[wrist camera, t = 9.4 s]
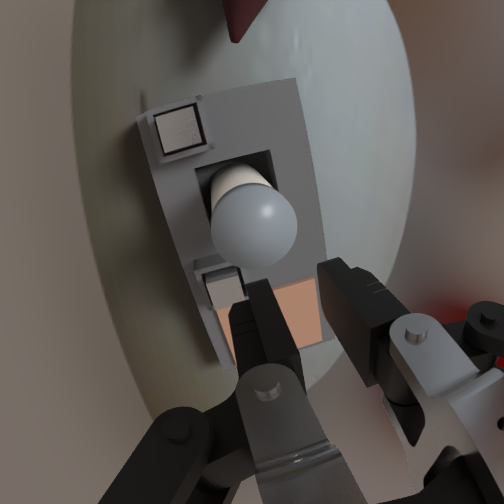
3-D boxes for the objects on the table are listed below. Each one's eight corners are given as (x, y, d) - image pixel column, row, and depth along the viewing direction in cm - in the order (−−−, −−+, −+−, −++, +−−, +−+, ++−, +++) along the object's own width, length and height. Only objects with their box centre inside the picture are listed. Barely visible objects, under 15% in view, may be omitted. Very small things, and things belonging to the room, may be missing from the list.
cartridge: (202, 171, 24) (199, 203, 15) (256, 154, 24) (286, 176, 15) (219, 221, 26) (226, 279, 17) (270, 205, 26) (304, 254, 17)
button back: (204, 265, 25) (205, 284, 22) (233, 258, 25) (238, 275, 22) (213, 290, 26) (215, 310, 23) (240, 283, 26) (245, 302, 23)
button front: (161, 118, 19) (155, 117, 17) (193, 109, 20) (192, 106, 17) (169, 149, 21) (164, 152, 18) (201, 140, 21) (201, 142, 18)
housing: (141, 117, 21) (129, 115, 17) (286, 81, 22) (303, 74, 18) (221, 355, 32) (225, 384, 28) (326, 324, 33) (341, 350, 29)
